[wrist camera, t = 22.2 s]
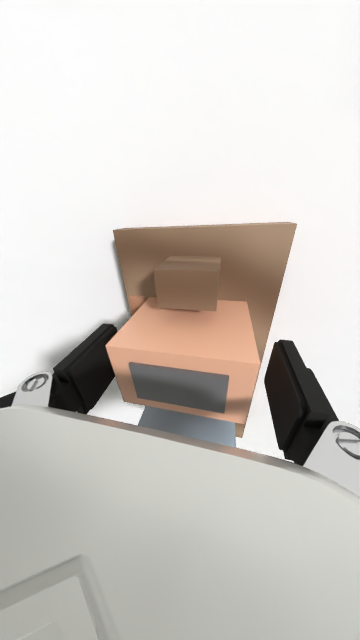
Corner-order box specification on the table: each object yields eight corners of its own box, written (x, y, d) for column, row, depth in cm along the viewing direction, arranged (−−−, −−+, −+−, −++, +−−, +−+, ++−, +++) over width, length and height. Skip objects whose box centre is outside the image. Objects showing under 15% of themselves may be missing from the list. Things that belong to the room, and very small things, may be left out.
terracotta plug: (238, 350, 13) (245, 427, 9) (156, 341, 15) (122, 404, 10) (246, 301, 11) (261, 367, 6) (149, 296, 13) (103, 347, 8)
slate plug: (228, 411, 17) (228, 487, 12) (163, 398, 18) (141, 463, 14) (233, 383, 15) (236, 461, 10) (160, 371, 16) (133, 436, 12)
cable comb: (241, 423, 20) (244, 472, 16) (157, 407, 22) (143, 447, 18) (288, 222, 10) (325, 228, 6) (124, 228, 12) (78, 235, 8)
